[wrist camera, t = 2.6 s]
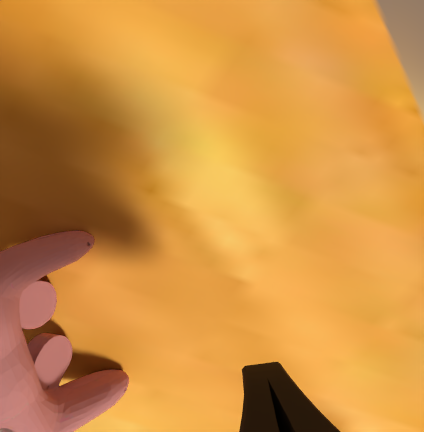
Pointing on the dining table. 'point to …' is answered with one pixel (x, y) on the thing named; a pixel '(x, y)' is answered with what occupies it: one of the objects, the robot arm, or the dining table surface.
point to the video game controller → (44, 344)
